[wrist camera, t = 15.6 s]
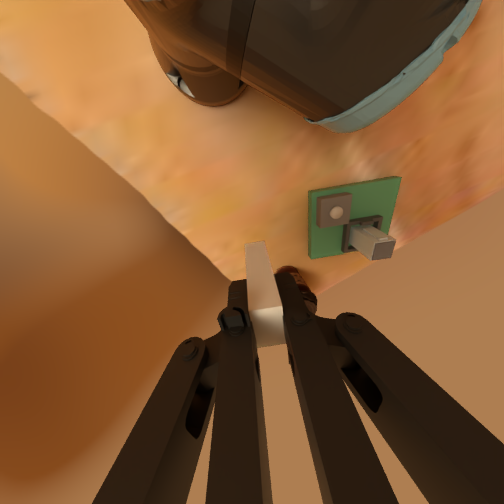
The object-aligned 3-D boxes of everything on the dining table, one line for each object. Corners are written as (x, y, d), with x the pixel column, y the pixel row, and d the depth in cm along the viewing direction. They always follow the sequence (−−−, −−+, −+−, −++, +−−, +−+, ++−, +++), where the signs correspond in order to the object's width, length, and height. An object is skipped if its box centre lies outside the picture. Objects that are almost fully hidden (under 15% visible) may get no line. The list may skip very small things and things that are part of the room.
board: (308, 190, 38) (317, 195, 33) (394, 176, 37) (414, 179, 33) (308, 255, 46) (315, 266, 41) (379, 243, 45) (394, 253, 41)
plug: (351, 225, 40) (376, 241, 33) (369, 222, 40) (397, 238, 33) (348, 242, 42) (371, 261, 35) (365, 240, 42) (391, 258, 35)
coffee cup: (279, 256, 45) (293, 291, 34) (307, 266, 47) (329, 302, 36) (265, 282, 49) (273, 321, 38) (292, 290, 51) (306, 329, 40)
